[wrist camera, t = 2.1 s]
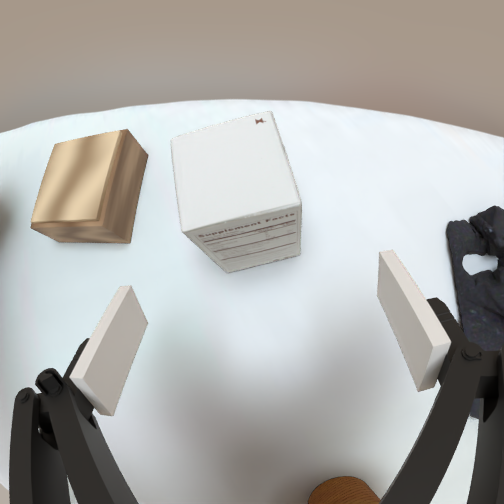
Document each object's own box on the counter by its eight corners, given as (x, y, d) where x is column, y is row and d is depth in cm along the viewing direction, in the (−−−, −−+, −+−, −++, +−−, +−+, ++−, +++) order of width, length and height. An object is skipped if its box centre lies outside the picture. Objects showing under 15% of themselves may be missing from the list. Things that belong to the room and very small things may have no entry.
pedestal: (59, 242, 34) (27, 226, 28) (79, 164, 37) (53, 141, 31) (130, 243, 32) (99, 223, 26) (148, 155, 35) (125, 125, 29)
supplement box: (213, 206, 32) (167, 134, 20) (283, 188, 31) (274, 106, 19) (225, 276, 30) (177, 234, 18) (302, 258, 29) (305, 202, 17)
